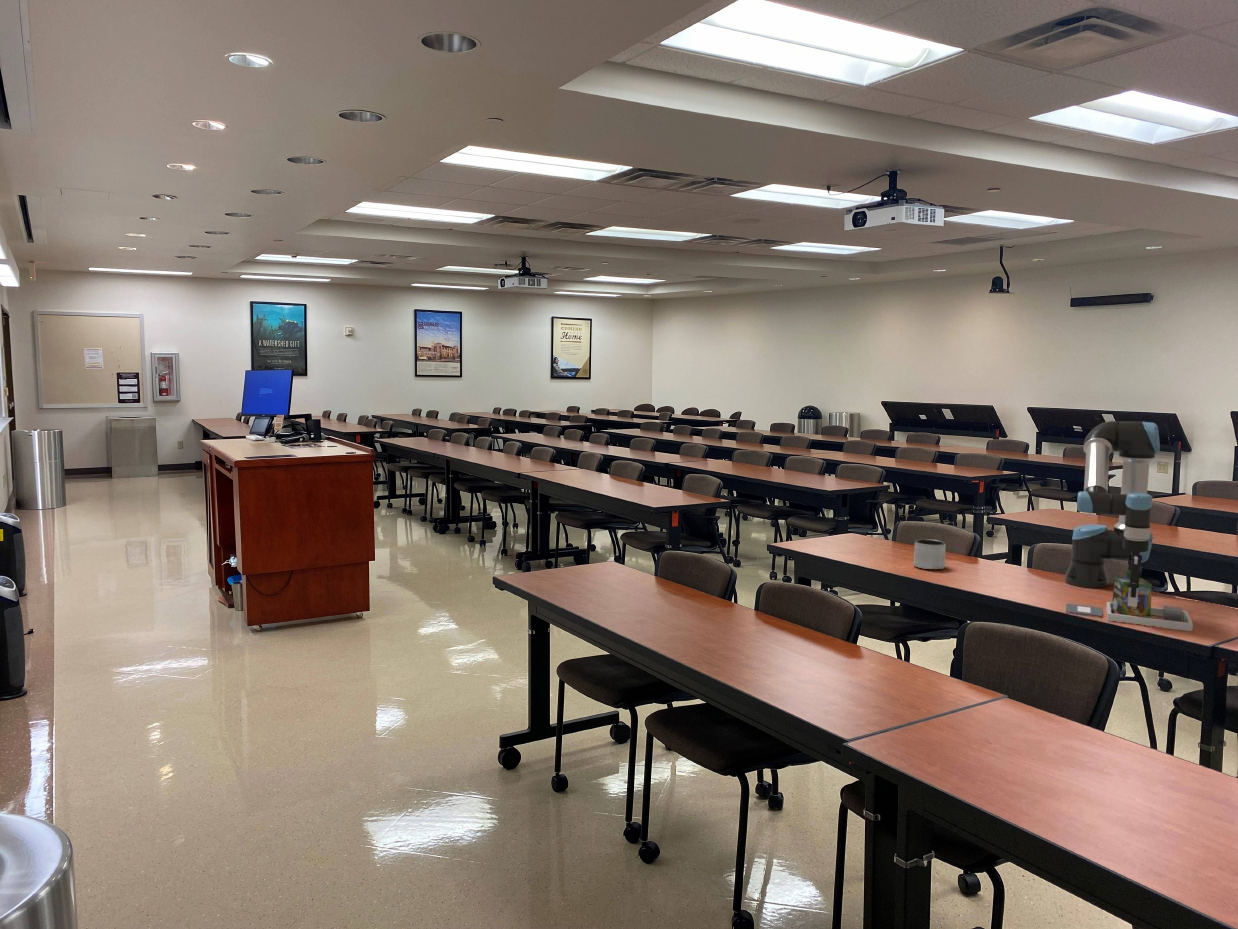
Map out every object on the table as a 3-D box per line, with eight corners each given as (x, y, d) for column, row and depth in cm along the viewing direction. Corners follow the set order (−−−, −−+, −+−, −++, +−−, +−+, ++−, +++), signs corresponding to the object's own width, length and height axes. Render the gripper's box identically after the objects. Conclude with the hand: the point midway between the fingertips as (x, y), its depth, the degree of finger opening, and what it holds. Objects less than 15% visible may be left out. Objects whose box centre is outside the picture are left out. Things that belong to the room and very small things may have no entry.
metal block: (1162, 619, 288) (1163, 605, 287) (1179, 622, 285) (1180, 607, 285) (1163, 624, 283) (1164, 609, 283) (1181, 626, 281) (1182, 611, 280)
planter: (947, 566, 363) (948, 540, 361) (941, 572, 352) (942, 546, 351) (917, 562, 369) (918, 537, 368) (910, 568, 359) (911, 542, 357)
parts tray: (1106, 608, 300) (1106, 601, 300) (1186, 618, 289) (1187, 611, 289) (1107, 620, 286) (1107, 613, 286) (1192, 631, 275) (1192, 624, 275)
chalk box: (1150, 617, 285) (1154, 575, 283) (1120, 616, 287) (1124, 573, 284) (1139, 609, 294) (1143, 568, 292) (1110, 608, 295) (1114, 566, 293)
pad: (1066, 605, 305) (1066, 603, 305) (1101, 609, 300) (1101, 607, 300) (1066, 613, 295) (1066, 611, 295) (1102, 617, 290) (1102, 615, 290)
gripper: (1121, 531, 298) (1117, 591, 301) (1124, 544, 278) (1120, 609, 281) (1146, 533, 295) (1142, 594, 298) (1151, 546, 275) (1146, 612, 278)
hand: (1131, 601), depth 290 cm, fingers closed on chalk box, 10 cm apart
